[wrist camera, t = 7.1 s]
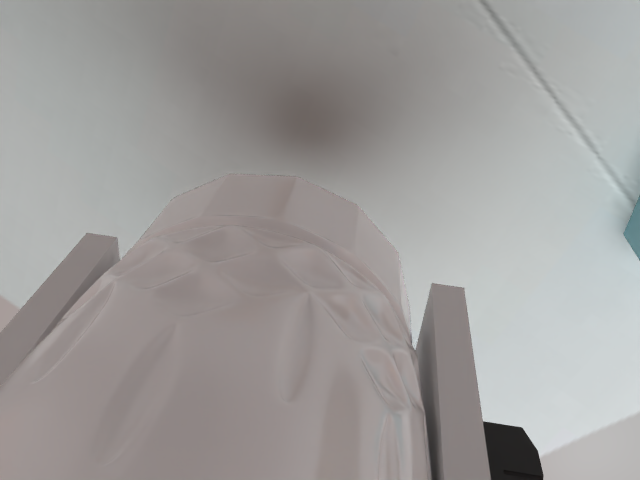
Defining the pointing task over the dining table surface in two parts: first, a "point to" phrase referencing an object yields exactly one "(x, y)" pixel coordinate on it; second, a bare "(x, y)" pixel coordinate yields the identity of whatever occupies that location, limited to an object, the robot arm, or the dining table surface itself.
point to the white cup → (230, 351)
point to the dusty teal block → (634, 229)
